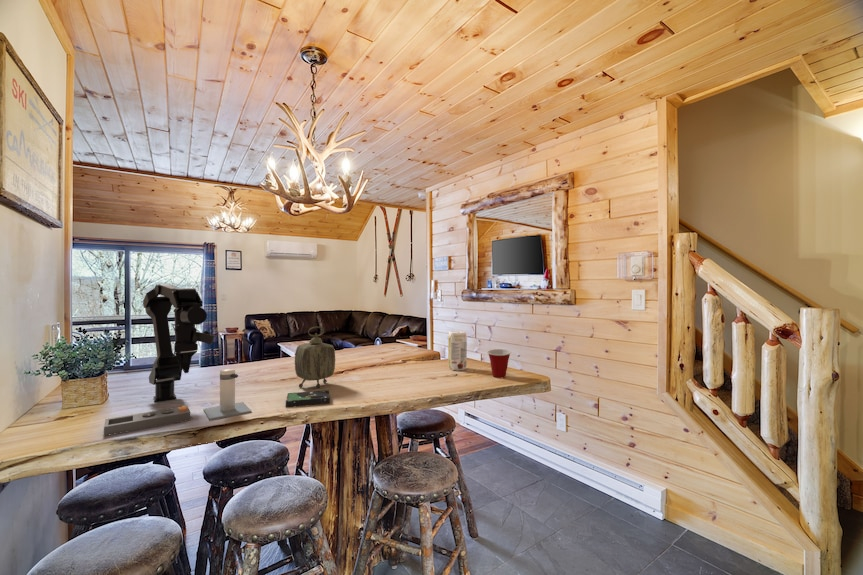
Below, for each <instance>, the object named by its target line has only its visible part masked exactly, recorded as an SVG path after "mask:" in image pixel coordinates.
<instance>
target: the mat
mask: <svg viewBox="0 0 863 575" xmlns="http://www.w3.org/2000/svg"><path fill="white" fill-rule="evenodd" d="M203 412H204V414H205V416H206V417H207V419H208V421H214V420H219V419H226V418H231V417H235V416H241V415H246V414H251V413H253V412H252V409H251V408H250V407H249V406H248V405H247V404H245V402H244V401H241V402H240V401H239V402H235V409H234V410H232V411H228V412H221V411H220V405H217V406H216V405H215V406H211V407H207V408H203Z"/></svg>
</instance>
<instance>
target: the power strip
mask: <svg viewBox="0 0 863 575" xmlns="http://www.w3.org/2000/svg"><path fill="white" fill-rule="evenodd" d="M188 421H191V411H190V408H189V406H188V405H182V406H178V407H177V406H176V407H172V408H171V407H170V408H165V409H159V410H152V411H147V412H140V413H135V414H128V415H122V416H117V417H110V418H109V417H108V418H105V420H104V425H103V426H104V427H103V436H104V435H108V436H110V435H109V434H113V435H115V434H114V433H118V434H121V433H120V432H124V433H127V432H126V431H129V432H133V431H134V430H135V431H139V430H145V429H149V428H155V427H161V426H166V425H171V424H178V423H183V422H188Z"/></svg>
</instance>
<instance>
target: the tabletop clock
mask: <svg viewBox="0 0 863 575" xmlns="http://www.w3.org/2000/svg"><path fill="white" fill-rule="evenodd" d="M314 329H320V330H321V331H322V333H320V334H318V333H317V332H315V333H314V334H311V333H310V331H311V330H314ZM324 333H325V330H324V328H323V327H322V326H318V325H317V326H312V327H310V328H309V329H308V331H307V335H308V336H310V337H311V339H310V340H309V342H307V343H302V344H299V345H298V346H297V347H296V349H295V353H294V371H295V374H296V377H298V378H301V379H303V380H302V382H301V383H299V384H298V388H302V387H303V385H304V383H305V382H306V381H309V382H310V381H316V388H321V384H320V380H322V383H324V384H325V383H327V381H328V380H327V378H329V377H331V376H333V375H334V373H335V369H336V368H335V367H336V352H335V347H334V345H333V344H331V343H330V344H329V343H324V342H323V340H322V338H321V337H320V336H322V335H323V334H324Z"/></svg>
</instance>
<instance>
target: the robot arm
mask: <svg viewBox="0 0 863 575" xmlns="http://www.w3.org/2000/svg"><path fill="white" fill-rule="evenodd" d="M203 303H204V302H203V300H202V298H201V297H200V294H199V292H198V291H197V289H196V288H195V287H192V288H191V287H187V288H185V287H183V288H182V287H178V286H176V285H173V284H171V283H158V284H156V285H155V286H154V288H153V289H151V290H149V291H148V292H146V294H145V296H144V298H143V302H142V304H143V308H145V313H146V314H147V315H148V316H149V318H151V320H152V326H153V333H154V342H155V349H156V358H155V360H154V362H153V363H152V369H151V370H150V373H149V376H148V380H149V381H148V382H149V384H151V385H154V389H155V390H154V392H155V395H154V396H153V402H155V403H156V402H162V401H167V400H168V401H169V400H175V399H177V395H176V393H175V382H177V381H181V379H182V374H183V372H184V374H189V373H190V368H191V362H192V357H193V356H195V354H196V353H198V351H199V349H198V347H199V346H198V342H201V343H206V344H207V345H213V342H214V339H215V337H216V336H215V335H213V334H211V332H210V331H208V330H204V331H203V332H200V331H198V329H197V327H196V325H200V324H203V323H205V322H206V319H207V318H208V313H207V312H206V310H205V309H204V308H203ZM172 306H173V308H174V310H173V313H174V342H175V343H174V347H173V346H172V345H173V344H172V340H171V332H170V326H169V319H168V318H169V317H168V315H169V314H170V312H171V311H172ZM173 349H174V352H173Z"/></svg>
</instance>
